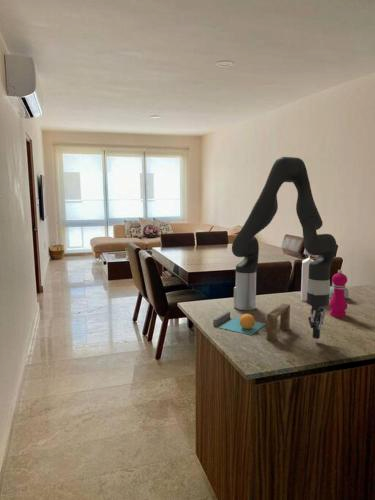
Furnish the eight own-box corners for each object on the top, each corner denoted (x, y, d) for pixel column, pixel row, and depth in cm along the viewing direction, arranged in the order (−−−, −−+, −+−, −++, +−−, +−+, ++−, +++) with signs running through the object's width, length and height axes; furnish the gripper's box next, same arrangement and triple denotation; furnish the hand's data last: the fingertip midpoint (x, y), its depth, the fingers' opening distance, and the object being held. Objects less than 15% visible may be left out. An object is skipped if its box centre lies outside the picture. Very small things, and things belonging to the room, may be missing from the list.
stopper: (213, 325, 151) (213, 319, 150) (227, 317, 160) (227, 311, 160) (215, 326, 150) (215, 320, 150) (230, 317, 160) (230, 312, 159)
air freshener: (327, 295, 192) (328, 276, 190) (344, 295, 190) (345, 276, 189) (331, 301, 181) (332, 281, 180) (349, 302, 180) (350, 281, 178)
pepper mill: (325, 312, 165) (328, 268, 161) (341, 312, 165) (344, 267, 162) (333, 318, 158) (336, 271, 154) (350, 317, 158) (352, 271, 155)
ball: (252, 318, 142) (252, 332, 143) (256, 312, 147) (257, 327, 148) (237, 315, 145) (237, 330, 146) (242, 310, 150) (242, 324, 151)
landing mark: (218, 327, 148) (218, 327, 148) (235, 317, 160) (235, 317, 160) (251, 335, 140) (251, 334, 140) (266, 324, 152) (266, 323, 152)
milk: (301, 301, 182) (302, 256, 179) (300, 297, 188) (302, 254, 185) (314, 301, 181) (316, 256, 177) (313, 298, 187) (315, 254, 183)
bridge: (266, 339, 136) (267, 314, 135) (281, 326, 148) (282, 303, 147) (274, 341, 135) (275, 315, 133) (289, 328, 147) (290, 304, 145)
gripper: (313, 285, 138) (311, 330, 141) (301, 293, 127) (299, 342, 130) (334, 288, 134) (331, 334, 137) (324, 297, 123) (321, 346, 126)
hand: (316, 337), depth 133 cm, fingers closed
